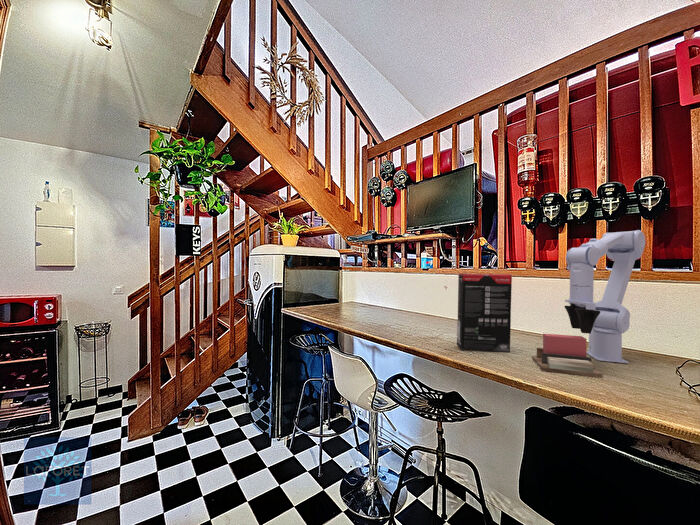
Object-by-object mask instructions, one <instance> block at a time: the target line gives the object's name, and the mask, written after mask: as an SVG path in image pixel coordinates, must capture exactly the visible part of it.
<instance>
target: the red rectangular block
mask: <svg viewBox="0 0 700 525" xmlns="http://www.w3.org/2000/svg"><path fill="white" fill-rule="evenodd" d="M542 344H543V345H542V348H543V353H550V354H561V355H572V356H582V357H588V354H587V351H588V350H587V348H588V347H587V344H588V343H587V338H586V337H584V336H582V335H570V334H568V335H567V334H558V333H557V334H556V333H542Z"/></svg>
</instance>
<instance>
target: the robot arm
mask: <svg viewBox="0 0 700 525" xmlns="http://www.w3.org/2000/svg"><path fill="white" fill-rule="evenodd" d="M645 247H646V237H645V234H644V232H643V231H642V230H640V229H637V230H630V231H629V230H628V231H616V232H605V233H603V234H602V237H601V238H600V239H598V238H590V239H589V241H588V242H586V243H582V244H581V245H579V247H571V248H570V249H568V250H567V252H566V254H565V261H566V264H567V270H568V271H569V298H568V299H565V300H564V302H565V303H568V305H564V308H565V311H566V313H567V315H568V319H569V321H570V327H571V328H572V329H575V330H576V329H577V330H580V332H581V334H588V350H587V355H588V356H590V357H591V358H593V359H595V361H601V362H609V363H610V362H611V363H621V364H629V361H628V360H625V359H624V358H623V354H622V352H623V351H622V350H623V348H622V347H623V346H622V344H623V338H622V337H623V336H622V334H624V333H626V332H627V331H628V330H629V329H630V324H631V323H630V318H631V313H630V311H629V310H628V308H626V307H625V306H624V305H622V304H623V301H624V298H625V294H626V291H627V288H628V284H629V282H630V278H631V275H632V271H633V270H634V269H633V268H634V267H635V266H634V265H635V263H636V262H635V261H637V260H639V259H640V258H642V255H643V253H644V250H645ZM605 255H606V257H607V258H608V259H610V260H612V261H613V265H612V268H611V271H610V275H609V277H608V280H607V283H606V287H605V290H604V292H603V295H602V298H601V300H599V301H596V302H595V301H594V270H595V269H594V266H596V265H597V264H598V262H599V260H600V258H602V257H603V256H605Z"/></svg>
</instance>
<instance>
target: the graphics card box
mask: <svg viewBox="0 0 700 525" xmlns="http://www.w3.org/2000/svg"><path fill="white" fill-rule="evenodd" d="M512 279H513V276H512V274H509V273H507V274H503V273H501V274H500V273H458V286H457V287H458V288H457V292H458V293H457V324H456V325H457V331H456V345H457V346H458V347H459V349H461V350H462V351H463V350H467V351H480V352H481V351H484V352H487V351H488V352H502V353H510V352H511V331H512V330H511V328H512V327H511V321H512V320H511V319H512V318H511V317H512V316H511V315H512V313H511V312H512V282H513V280H512Z"/></svg>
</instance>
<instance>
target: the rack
mask: <svg viewBox="0 0 700 525" xmlns="http://www.w3.org/2000/svg"><path fill="white" fill-rule="evenodd" d="M531 357H532V358H531V359H532V361H533V362H534V361H535V362H536V363H537V364H536V363H535V362H534V363H535V364H536V365H537V366H539V367H540V368H539V367H538V368H539V369H540V370H541V371H542V372H546V373H555V374H563V375H574V376H575V375H576V376H580V377H581V376H582V377H583V376H584V377H591V378H593V377H594V378H601V379H602V378H604V376H603V375H604V374H603V373H601V371H599V370H598V369H597V368H595V367H594V364H593V362H592V356H590V357H589V356H587V357H582V356H572V355H561V354H550V353H543V347H536V355H531Z"/></svg>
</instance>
